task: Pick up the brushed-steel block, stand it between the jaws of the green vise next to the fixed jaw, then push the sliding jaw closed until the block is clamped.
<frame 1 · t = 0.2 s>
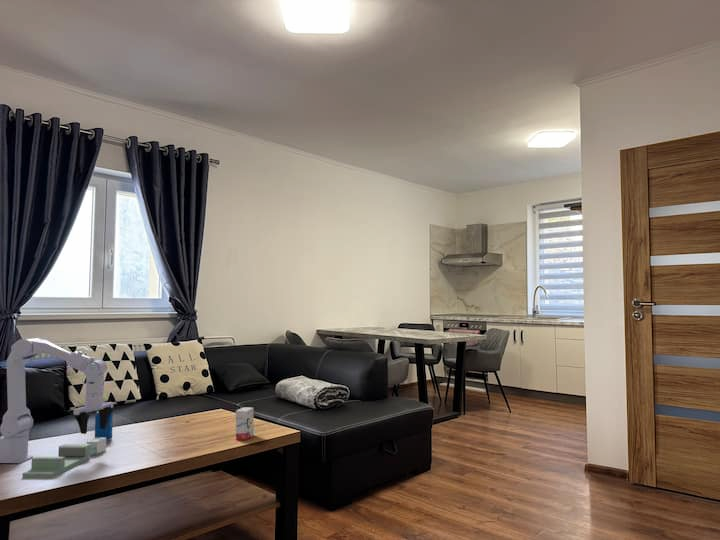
hand: (93, 431, 179), 10 cm above the table, tool pointing down, fingers open, 7 cm apart
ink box: (244, 438, 206), on the table
sliding jaw: (74, 450, 177), point 3 cm above the table, slide at 0.0 cm
vise: (65, 464, 172), on the table
steel block: (96, 453, 185), on the table
beverage can: (103, 441, 203), on the table
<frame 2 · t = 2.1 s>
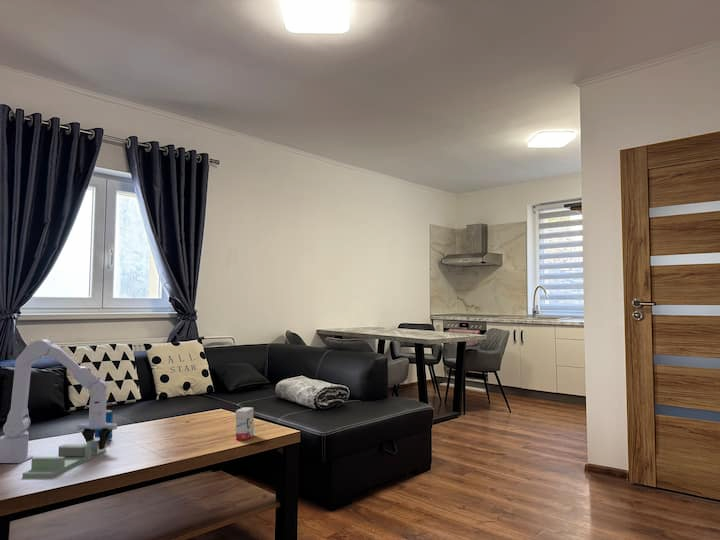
hand: (96, 448, 186), 1 cm above the table, tool pointing down, fingers closed on steel block, 4 cm apart
steel block: (96, 452, 185), on the table, touching gripper
everything else where it was.
when the fingers open (4 cm above the table, at t = 6.0 s): steel block stays where it is, resting on vise.
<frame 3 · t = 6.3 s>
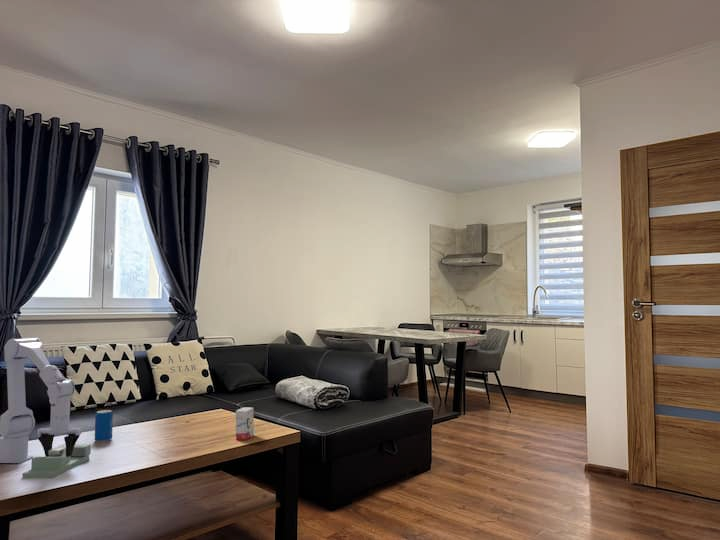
hand: (58, 456, 168), 4 cm above the table, tool pointing down, fingers open, 7 cm apart
steel block: (59, 462, 169), point 1 cm above the table, touching vise
everything else where it was.
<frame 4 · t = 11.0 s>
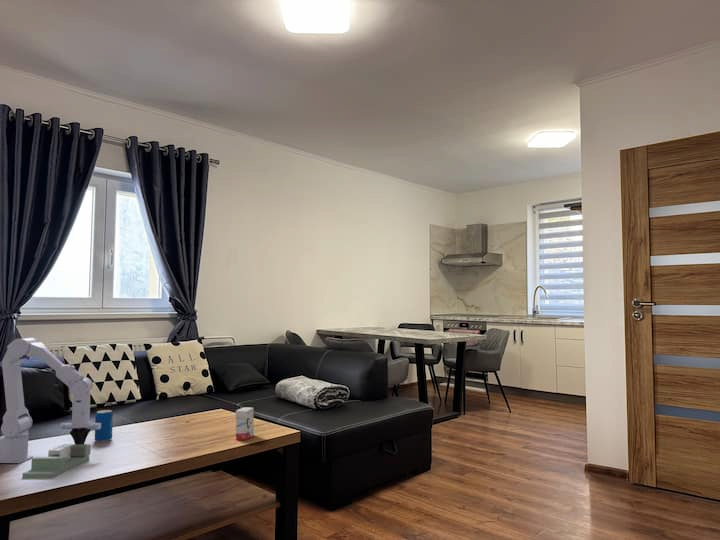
hand: (79, 449, 180), 3 cm above the table, tool pointing down, fingers closed, pressing on sliding jaw
sliding jaw: (73, 450, 177), point 3 cm above the table, slide at 0.1 cm, touching gripper
everything else where it was.
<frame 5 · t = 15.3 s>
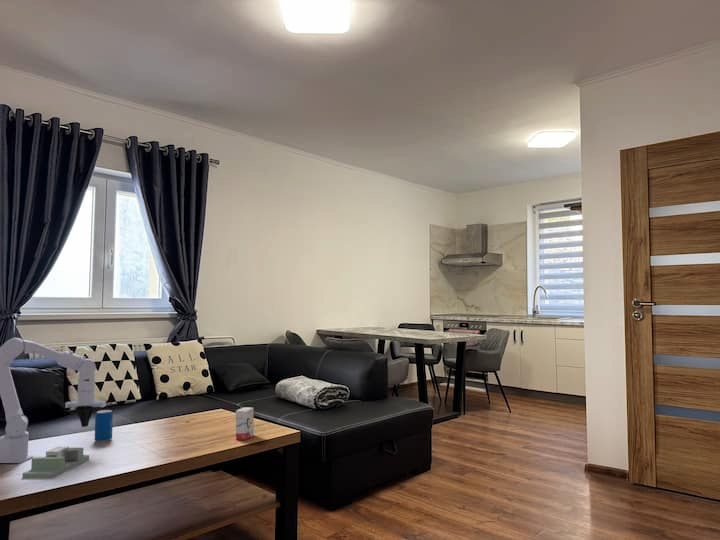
hand: (84, 426, 188), 9 cm above the table, tool pointing down, fingers closed
sliding jaw: (66, 454, 172), point 3 cm above the table, slide at 4.4 cm
steel block: (56, 463, 167), point 1 cm above the table, touching vise
everything else where it was.
at the end: steel block 0.1 cm from the target spot on the vise, point 1.5 cm above the vise's base; steel block tilted 0°; sliding jaw slide at 4.4 cm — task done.
